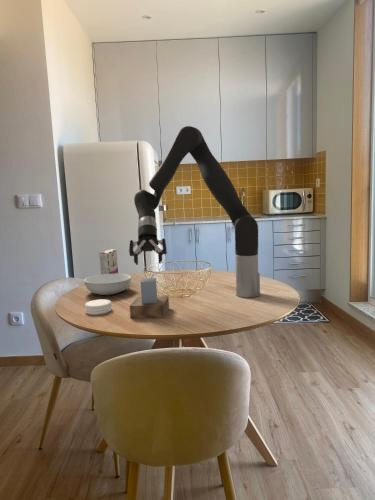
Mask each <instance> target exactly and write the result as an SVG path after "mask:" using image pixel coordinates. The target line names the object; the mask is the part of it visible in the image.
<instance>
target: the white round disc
mask: <svg viewBox="0 0 375 500" xmlns="http://www.w3.org/2000/svg"><path fill="white" fill-rule="evenodd" d="M84 306H85V308H84V309H85V310H84V311H85V313H86V314H87V315H91V316H92V315H94V316H95V315H96V316H97V315H98V316H99V315H104V314H107V313H109V312H111V311H112V310H113V308H112V301H111V300H110V299H105V298H104V299H103V298H102V299H94V300H90V301H87V302H86V303H85V304H84Z"/></svg>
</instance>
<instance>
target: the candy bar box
mask: <svg viewBox="0 0 375 500" xmlns="http://www.w3.org/2000/svg"><path fill="white" fill-rule="evenodd" d="M117 252H118V251H117V249H116V248H115V249H114V248H113V249H110V248H109V249H107V250H103V251H101V252H99V253H98V254H99V256H98V257H99V265H100V275H102V274H119V266H118V255H117V254H118V253H117Z"/></svg>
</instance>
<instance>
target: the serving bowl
mask: <svg viewBox="0 0 375 500" xmlns="http://www.w3.org/2000/svg"><path fill="white" fill-rule="evenodd" d="M131 281H132V276H131V275H129V274H126V273H118V274H102V275H101V274H96V275H92V276H88V277H86V278H84V280H83V283H84V286H85V288H86V289H87V290H88V291H89V292H91V293H93V294H97V295H100V296H101V295H102V296H110V295H115V294H118V293H121V292H123V291H126V290H127V289H128V288H129V286H130V285H131Z"/></svg>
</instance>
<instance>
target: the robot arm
mask: <svg viewBox="0 0 375 500" xmlns="http://www.w3.org/2000/svg"><path fill="white" fill-rule="evenodd" d="M188 154H190V156H191V157H192V159H194V161H195V162H196V163H195V164H197V167H198V169H199V172H200V174H201V176H202V179H203V181H204V184H205V185H206V187H207V188H208V190H209V191H210V193H211V195H212V196H213V197H214V199H215V200H216V201H217V202H218V204H219V205H220V206H221V207H222V208H223V209H224V210H225V212H226V214H227V215H228V217H229V219H230V221H231V223H232V225H233V228H234V242H235V243H234V249H235V250H234V252H235V253H234V254H235V257H234V258H235V287H236V288H235V290H236V292H235V293H236V296H237V297H238V298H239V297H240V298H245V299H246V298H255V297H259V296H261V284H260V283H261V281H260V280H261V277H260V272H259V225H258V222H257V220H256V219H255V217H253V216H252V215H251V214H250V212H249V211H248V210H247V208H246V207H245V205H244V204H243V202H242V201H241V199H240V197H239V194H238V193H237V190H236V188H235V186H234V184H233V183H232V181H231V179H230V177H229V176H228V174H227V173H226V171H225V169H224V168H223V167H222V165H221V164H220V162H219V161H218V160H217V159H216V157H215V156H214V155H213V153H212V151H211V150H210V148H209V146H208V143H207V142H206V140H205V138H204V136H203V134H202V132H201V131H200V130H199V129H198V128H197V127H194V126H190V125H188V126H183V127H182V128H180V130H179V131H178V133H177V135H176V137H175V139H174V140H173V143H172V145H171V147H170V150H169V151H168V153H167V155H166V157H165V158H164V160H163V161H162V162H161V164H160V165H159V167H158V168H157V170H156V171H155V172H154V174H153V176H152V177H151V179H150V180H149V183H148V186H149V187H150V188H151V189H152V190H153V193H151V192H149V191H148V190H145V189H139V190H137V191H136V193H135V194H134V199H133V201H134V206H135V210H136V212H137V214H138V222H137V241H134V240H132V239H131V240H129V246H128V247H129V249H128V252H129V253H128V254H129V256H130V257H133V261H134V264H135V265H136V266H137V265H139V256H140V255H141V254H142V253H143V252H144V253H146V252H154V253H156V254H157V256H158V264H161V263H162V262H163V255H167V254H168V252H167V244H166V238H162V239H160V240H159V239H158V228H157V227H158V226H157V218H156V209H158V207H159V205H160V202H161V199H162V196H163V194H164V191H165V189H167V187H168V186H169V184H170V182H171V181H172V179H173V178H174V176H175V175H176V172H177V169H178V168H179V166H180V164H181V162H182V161H183V160H184V158H185V157H186V156H187V155H188ZM159 245H160V246H161V247H162V248H160V247H159ZM136 246H137V247H136ZM134 248H136V249H134Z"/></svg>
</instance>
